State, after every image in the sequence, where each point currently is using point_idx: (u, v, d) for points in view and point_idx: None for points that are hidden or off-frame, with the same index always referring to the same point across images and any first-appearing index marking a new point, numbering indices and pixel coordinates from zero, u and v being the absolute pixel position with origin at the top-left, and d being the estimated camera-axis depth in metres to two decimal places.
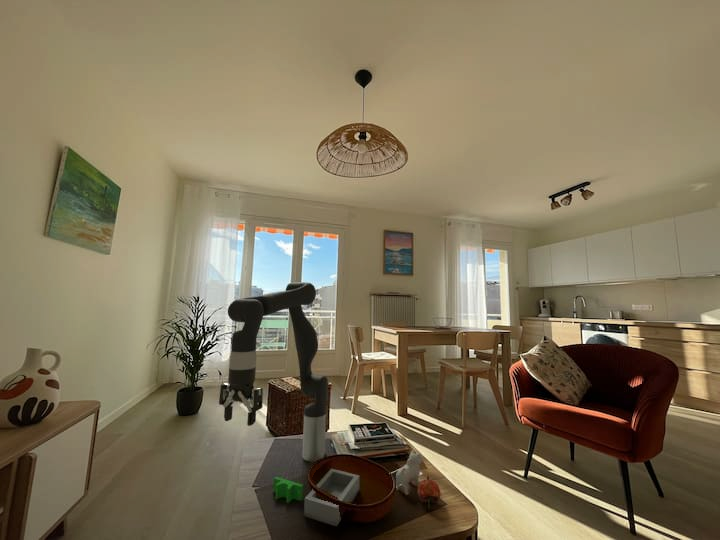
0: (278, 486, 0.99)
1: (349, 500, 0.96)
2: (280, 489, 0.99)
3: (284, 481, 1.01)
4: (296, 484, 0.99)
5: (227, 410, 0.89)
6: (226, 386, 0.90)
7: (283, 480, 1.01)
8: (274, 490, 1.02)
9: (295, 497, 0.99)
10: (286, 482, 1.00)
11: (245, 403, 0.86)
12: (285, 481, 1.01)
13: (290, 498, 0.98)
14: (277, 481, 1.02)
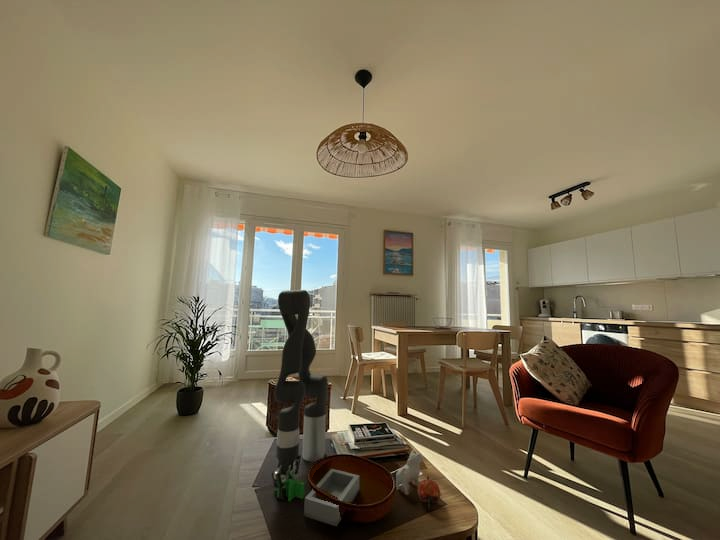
0: None
1: (349, 500, 0.96)
2: None
3: None
4: (298, 482, 1.00)
5: None
6: (278, 472, 0.96)
7: None
8: (275, 488, 1.03)
9: (297, 495, 0.99)
10: (287, 480, 1.01)
11: (294, 471, 1.02)
12: None
13: (292, 496, 0.98)
14: None
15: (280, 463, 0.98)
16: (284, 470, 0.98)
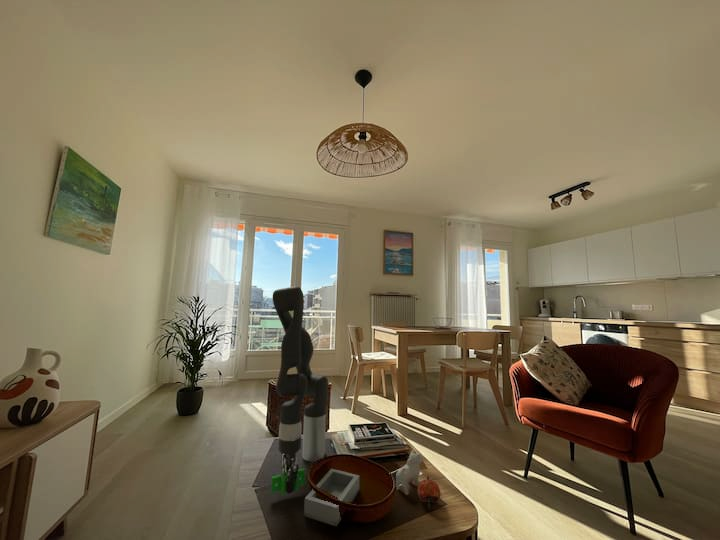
0: (285, 480, 0.98)
1: (349, 500, 0.96)
2: (285, 483, 0.99)
3: (284, 474, 1.00)
4: (298, 470, 1.03)
5: None
6: None
7: (283, 475, 1.00)
8: (272, 490, 0.98)
9: (298, 483, 1.02)
10: None
11: None
12: (286, 474, 1.01)
13: None
14: (276, 479, 0.99)
15: (292, 456, 0.97)
16: None
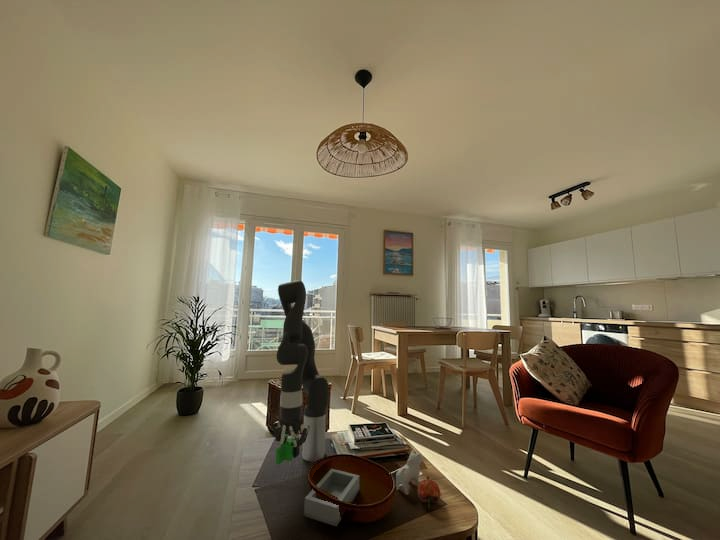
0: None
1: (349, 500, 0.96)
2: None
3: (286, 444, 1.00)
4: None
5: None
6: None
7: (284, 444, 1.00)
8: (279, 462, 0.96)
9: None
10: (288, 442, 1.01)
11: None
12: (286, 443, 1.01)
13: None
14: (282, 449, 0.98)
15: (300, 421, 1.01)
16: None
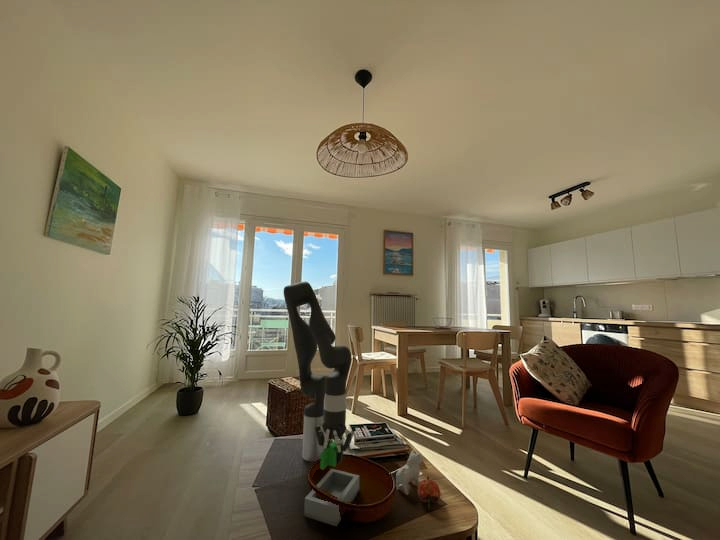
0: None
1: (349, 500, 0.96)
2: None
3: (329, 448, 0.98)
4: (335, 442, 1.03)
5: None
6: None
7: (328, 449, 0.98)
8: (323, 467, 0.94)
9: None
10: (331, 447, 0.99)
11: None
12: (330, 448, 0.99)
13: None
14: (326, 454, 0.96)
15: (344, 425, 0.98)
16: None
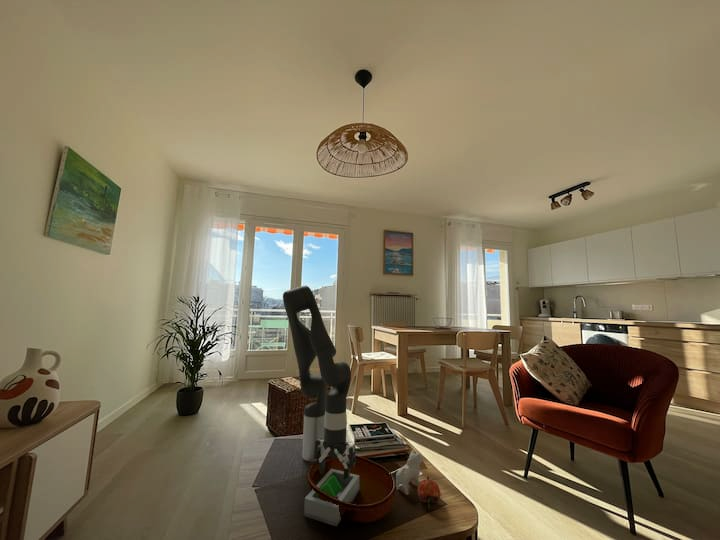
0: None
1: (349, 500, 0.96)
2: None
3: (323, 485, 0.98)
4: (329, 478, 1.02)
5: None
6: None
7: (322, 486, 0.97)
8: None
9: None
10: (325, 483, 0.99)
11: None
12: (323, 484, 0.98)
13: None
14: None
15: (345, 443, 0.98)
16: None
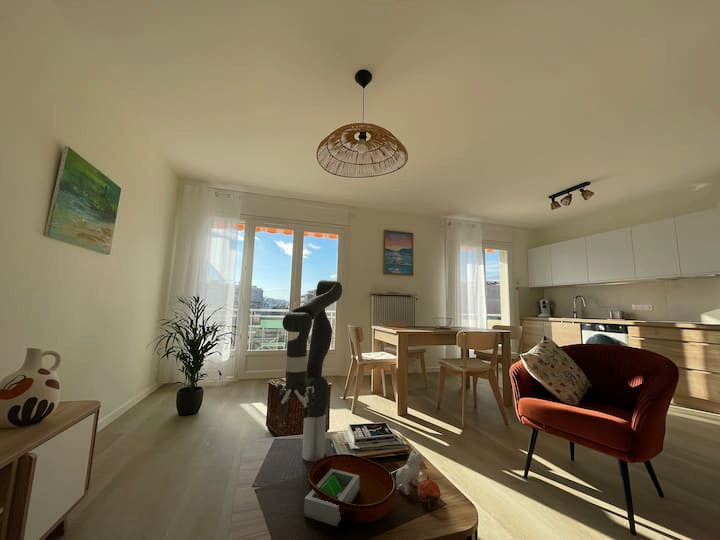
0: None
1: (349, 500, 0.96)
2: None
3: None
4: (329, 478, 1.02)
5: None
6: None
7: (321, 487, 0.97)
8: None
9: None
10: (325, 483, 0.99)
11: None
12: (323, 485, 0.98)
13: None
14: None
15: (305, 385, 1.05)
16: None
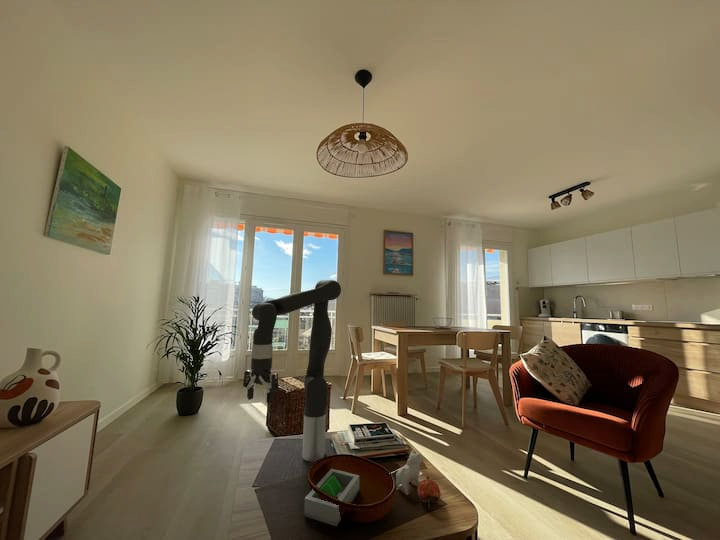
0: None
1: (349, 500, 0.96)
2: None
3: (322, 486, 0.98)
4: (329, 478, 1.02)
5: None
6: None
7: (321, 487, 0.97)
8: None
9: None
10: (325, 483, 0.99)
11: None
12: (323, 485, 0.98)
13: None
14: None
15: (269, 371, 1.10)
16: None
